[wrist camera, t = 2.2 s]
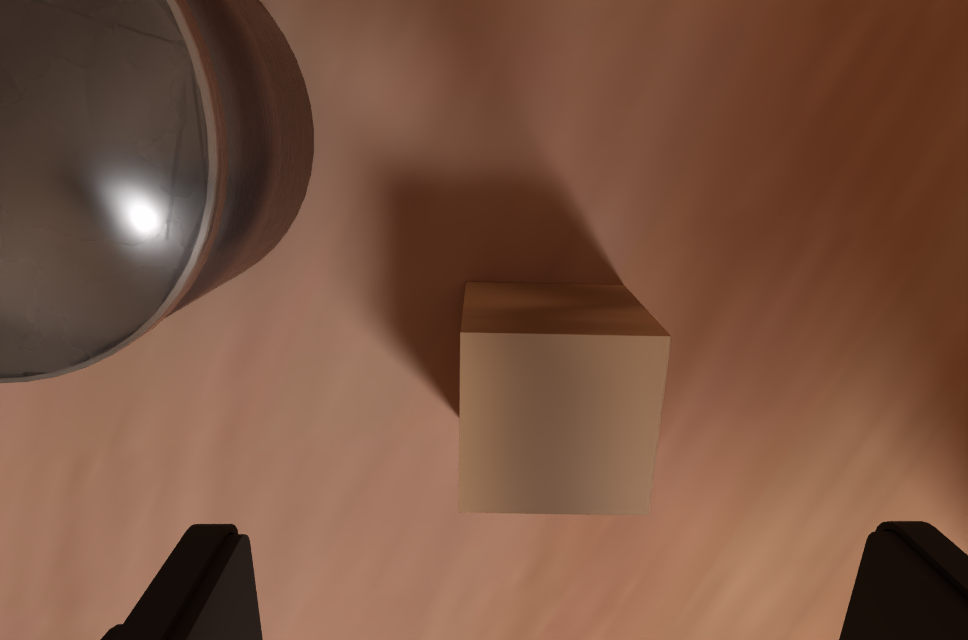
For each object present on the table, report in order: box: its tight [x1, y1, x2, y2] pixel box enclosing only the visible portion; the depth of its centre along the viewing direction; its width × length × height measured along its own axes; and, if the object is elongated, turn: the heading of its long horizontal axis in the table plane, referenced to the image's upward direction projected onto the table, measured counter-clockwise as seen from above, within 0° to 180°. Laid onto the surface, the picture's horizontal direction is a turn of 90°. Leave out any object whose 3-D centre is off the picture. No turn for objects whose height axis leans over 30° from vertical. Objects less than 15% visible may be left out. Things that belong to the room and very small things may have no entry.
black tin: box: [0, 0, 314, 383], centre depth 14 cm, size 10×10×7 cm
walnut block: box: [459, 282, 671, 516], centre depth 17 cm, size 5×5×5 cm
